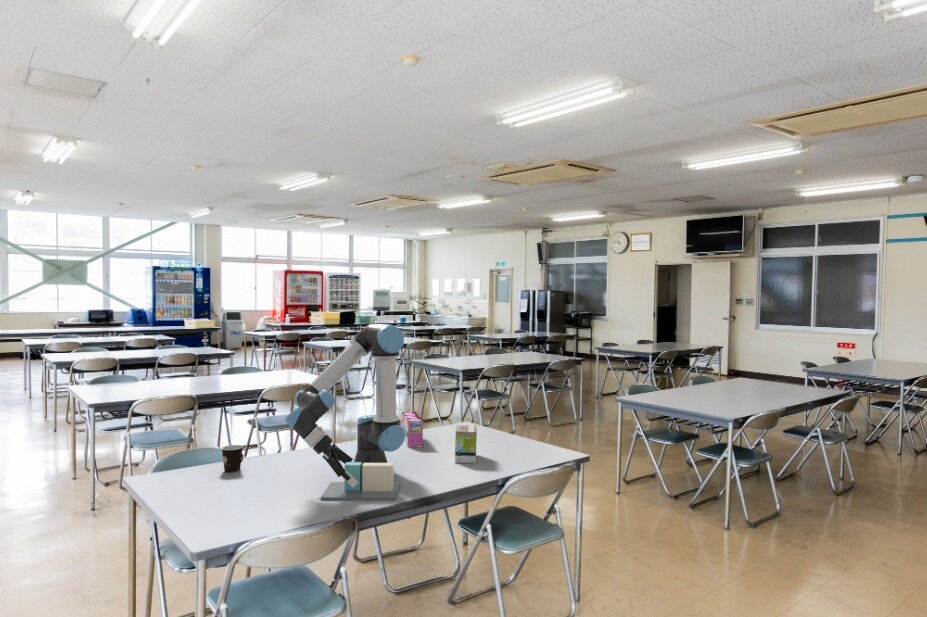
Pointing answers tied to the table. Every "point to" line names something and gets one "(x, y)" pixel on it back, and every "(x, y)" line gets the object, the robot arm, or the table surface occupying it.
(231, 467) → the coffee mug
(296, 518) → the table surface
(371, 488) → the ticket stand
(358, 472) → the stub
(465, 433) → the tea box
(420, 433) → the pink drink carton pack
